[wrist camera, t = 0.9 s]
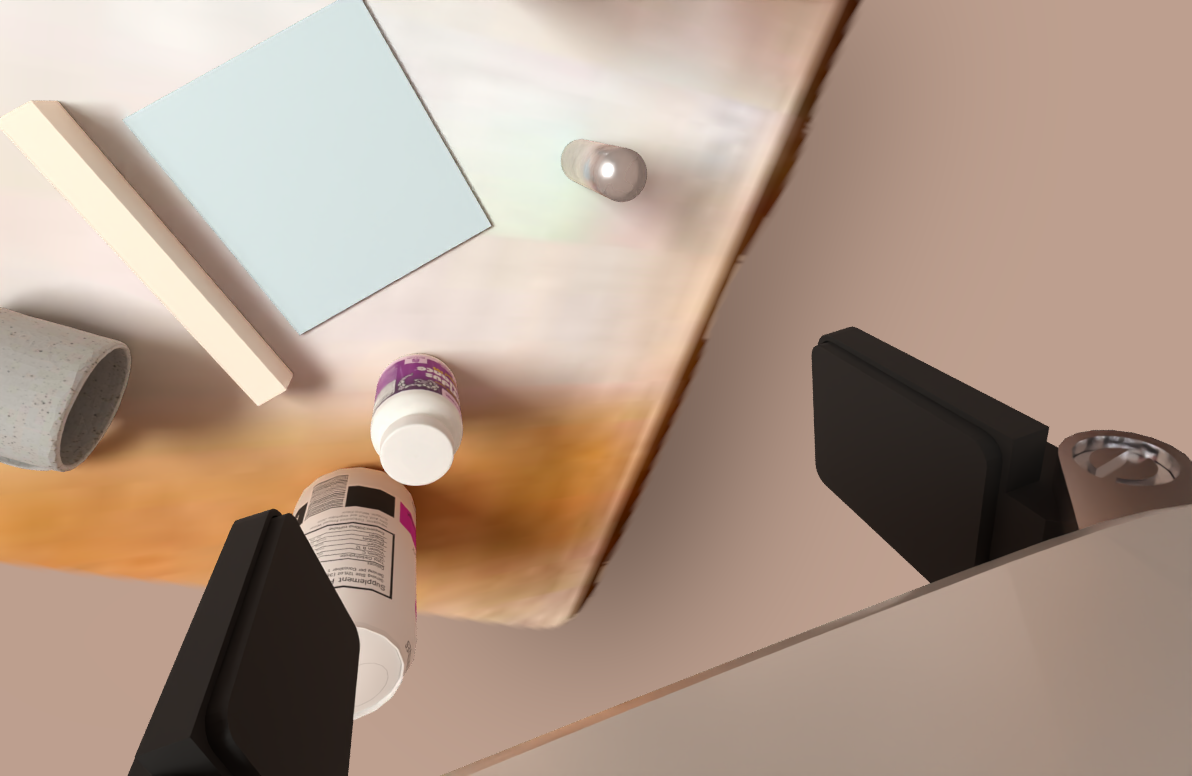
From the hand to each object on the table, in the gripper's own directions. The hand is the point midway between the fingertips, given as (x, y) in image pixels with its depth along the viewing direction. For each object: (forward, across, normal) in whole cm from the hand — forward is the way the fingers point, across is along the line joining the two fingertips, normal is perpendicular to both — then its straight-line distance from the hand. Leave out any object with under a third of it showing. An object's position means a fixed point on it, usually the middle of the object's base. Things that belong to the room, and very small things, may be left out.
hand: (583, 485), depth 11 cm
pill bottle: (+32, +6, +11) cm, 34 cm away
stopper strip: (+32, +17, -1) cm, 36 cm away
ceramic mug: (+32, +26, +4) cm, 41 cm away
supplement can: (+32, +14, +19) cm, 39 cm away
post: (+32, -8, -1) cm, 33 cm away
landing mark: (+32, +7, -4) cm, 33 cm away
